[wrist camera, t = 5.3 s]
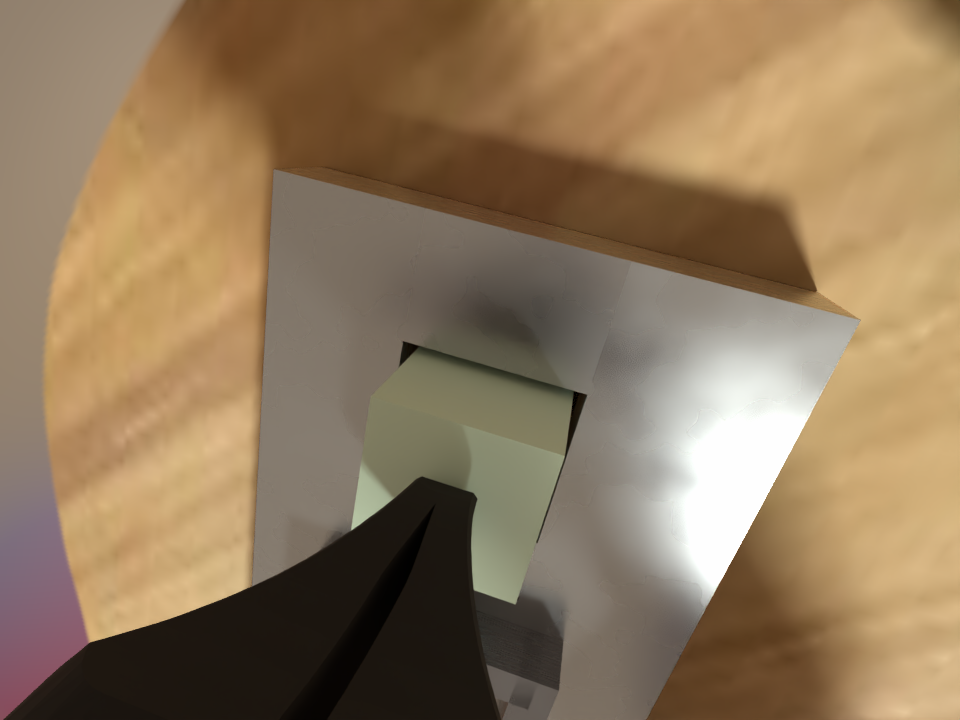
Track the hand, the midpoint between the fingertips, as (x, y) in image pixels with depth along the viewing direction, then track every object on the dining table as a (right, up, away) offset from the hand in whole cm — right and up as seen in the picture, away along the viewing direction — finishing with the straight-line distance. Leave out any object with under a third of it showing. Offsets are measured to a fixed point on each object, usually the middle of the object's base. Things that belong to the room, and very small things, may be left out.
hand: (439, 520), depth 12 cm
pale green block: (+1, +1, +4) cm, 4 cm away
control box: (+1, -3, +7) cm, 8 cm away
